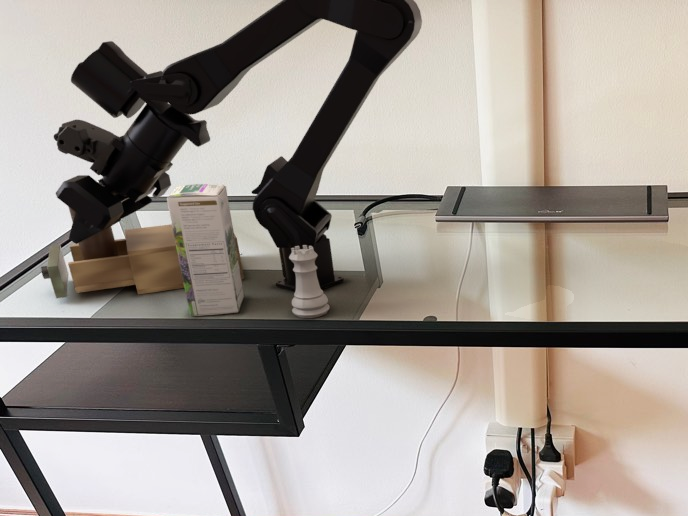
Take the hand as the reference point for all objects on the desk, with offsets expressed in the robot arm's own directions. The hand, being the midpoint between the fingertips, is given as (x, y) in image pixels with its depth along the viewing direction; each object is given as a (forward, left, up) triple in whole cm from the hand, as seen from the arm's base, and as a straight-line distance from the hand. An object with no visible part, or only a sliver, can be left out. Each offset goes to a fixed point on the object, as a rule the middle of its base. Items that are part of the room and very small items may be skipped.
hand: (84, 234), depth 106 cm
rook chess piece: (-31, -9, -7) cm, 33 cm away
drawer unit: (-6, -9, -7) cm, 13 cm away
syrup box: (-20, -4, -7) cm, 22 cm away
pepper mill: (-1, -1, -5) cm, 5 cm away
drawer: (-1, -1, -6) cm, 6 cm away
